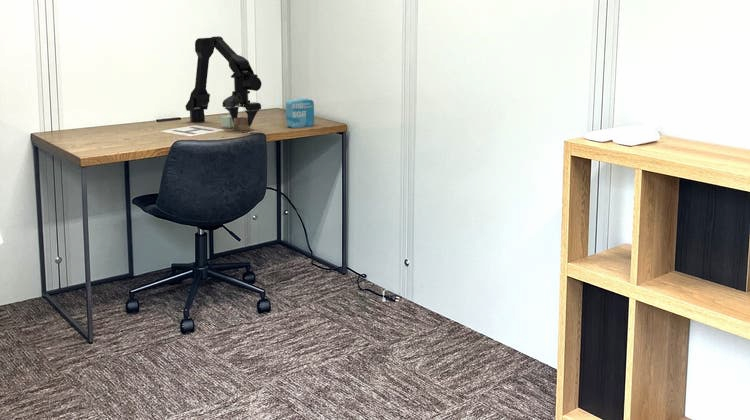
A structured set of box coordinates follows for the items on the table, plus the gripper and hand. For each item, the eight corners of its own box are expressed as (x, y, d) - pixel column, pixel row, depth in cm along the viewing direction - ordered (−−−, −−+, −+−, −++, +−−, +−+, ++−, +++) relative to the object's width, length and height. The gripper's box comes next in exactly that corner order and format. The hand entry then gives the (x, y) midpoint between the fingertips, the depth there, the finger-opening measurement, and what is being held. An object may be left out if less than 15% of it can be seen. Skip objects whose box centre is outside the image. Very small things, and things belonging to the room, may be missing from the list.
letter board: (159, 133, 395) (159, 131, 394) (195, 127, 410) (195, 125, 410) (190, 138, 383) (190, 136, 382) (226, 132, 398) (226, 129, 398)
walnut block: (234, 131, 399) (233, 118, 398) (242, 130, 403) (241, 116, 402) (242, 133, 397) (241, 119, 395) (250, 131, 400) (250, 117, 399)
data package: (290, 128, 409) (290, 101, 406) (286, 127, 412) (285, 100, 409) (314, 126, 415) (314, 99, 412) (309, 124, 419) (309, 98, 416)
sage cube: (221, 128, 407) (221, 116, 406) (230, 127, 411) (230, 115, 410) (230, 130, 404) (229, 117, 402) (239, 128, 408) (238, 116, 407)
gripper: (212, 88, 395) (213, 124, 399) (242, 92, 384) (243, 129, 387) (231, 86, 403) (232, 121, 407) (261, 89, 392) (262, 126, 396)
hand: (242, 124), depth 399 cm, fingers open, 9 cm apart
